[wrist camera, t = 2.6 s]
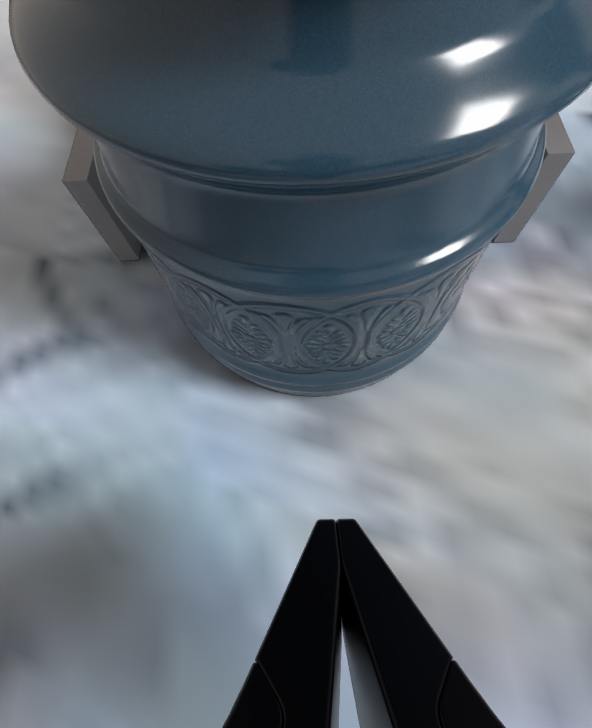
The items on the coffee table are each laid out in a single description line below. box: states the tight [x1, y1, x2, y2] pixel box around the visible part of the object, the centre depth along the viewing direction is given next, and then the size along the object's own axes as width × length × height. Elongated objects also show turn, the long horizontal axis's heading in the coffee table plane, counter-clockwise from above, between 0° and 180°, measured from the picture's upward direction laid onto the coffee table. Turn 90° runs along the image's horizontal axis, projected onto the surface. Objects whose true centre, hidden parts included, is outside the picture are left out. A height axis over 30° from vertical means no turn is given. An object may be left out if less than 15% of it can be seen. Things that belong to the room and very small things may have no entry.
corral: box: [62, 113, 575, 261], centre depth 21 cm, size 20×20×5 cm
